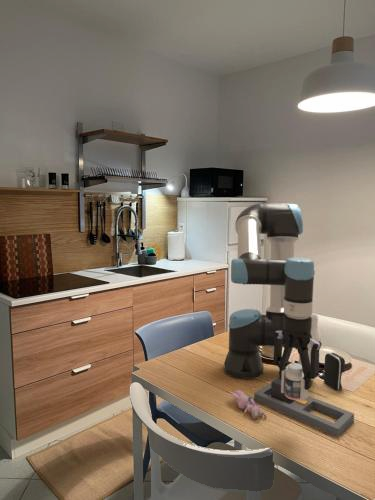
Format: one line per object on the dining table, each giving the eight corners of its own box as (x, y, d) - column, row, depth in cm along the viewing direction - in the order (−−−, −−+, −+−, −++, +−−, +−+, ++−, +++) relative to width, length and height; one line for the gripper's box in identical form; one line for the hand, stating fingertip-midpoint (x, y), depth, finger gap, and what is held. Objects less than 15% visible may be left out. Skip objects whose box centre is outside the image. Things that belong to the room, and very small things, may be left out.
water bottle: (314, 374, 142) (324, 313, 135) (313, 386, 136) (324, 322, 129) (294, 370, 145) (303, 310, 138) (293, 381, 138) (302, 318, 131)
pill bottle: (282, 391, 110) (283, 362, 108) (299, 390, 110) (301, 361, 109) (288, 401, 104) (289, 370, 103) (306, 400, 105) (308, 369, 104)
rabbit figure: (269, 422, 115) (239, 393, 128) (272, 405, 114) (241, 377, 126) (253, 428, 112) (224, 398, 125) (256, 411, 111) (226, 382, 123)
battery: (345, 389, 133) (347, 357, 131) (336, 391, 131) (338, 359, 130) (331, 380, 139) (333, 350, 138) (323, 382, 138) (324, 352, 136)
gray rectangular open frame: (253, 400, 125) (254, 379, 124) (272, 388, 133) (273, 369, 132) (337, 437, 106) (338, 413, 105) (353, 421, 113) (355, 399, 112)
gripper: (261, 310, 108) (259, 388, 111) (323, 326, 95) (318, 413, 98) (275, 305, 113) (273, 379, 116) (336, 319, 100) (331, 402, 103)
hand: (294, 394), depth 107 cm, fingers closed on pill bottle, 5 cm apart
